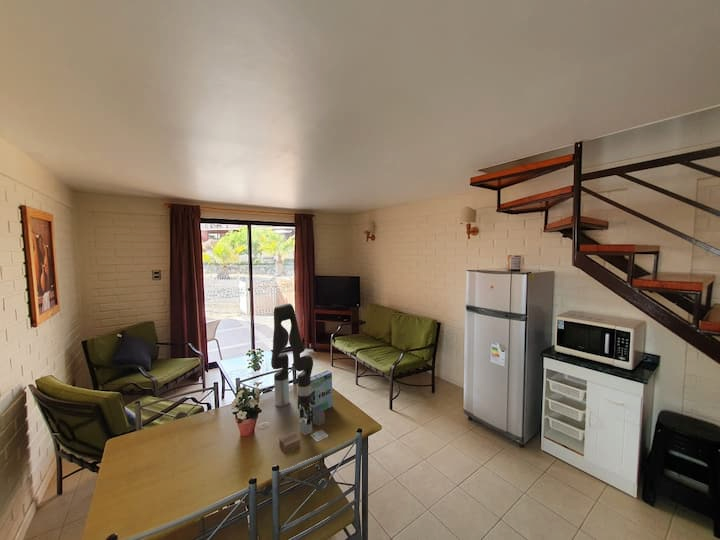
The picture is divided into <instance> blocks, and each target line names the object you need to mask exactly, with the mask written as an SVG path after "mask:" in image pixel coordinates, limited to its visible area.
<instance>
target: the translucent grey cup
mask: <svg viewBox="0 0 720 540" xmlns="http://www.w3.org/2000/svg"><path fill="white" fill-rule="evenodd" d="M325 415H326V413H325V411H321V410H317V411H316V412H314V413H313V418H312V425H316V426H318V427H321V425H323V424H324V423H326V416H325Z"/></svg>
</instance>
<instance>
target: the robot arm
mask: <svg viewBox="0 0 720 540" xmlns="http://www.w3.org/2000/svg"><path fill="white" fill-rule="evenodd" d="M287 320H290V331H289V332H288V330H287V329H286V328H285V327H284V326H283V324H282V322H286V321H287ZM297 320H298V319H297V315H296V311H295V308H294V306H293V304H291V303H284V304H280V305H277V306H275V307H274V309H273V336H272V337H273V339H272V353H271V359H270V364H271V368H272V369H273V370H279V371H277V372H275V373H274V375H273V381H274V382H273V383H274V386H273V387H274V404H275V406H276V407H285V406H288V404H289V403H290V382H289V381H290V380H289V378H290V377H289V364H290V362H289V359H290V358H289V355H288V353H285V352H284V353H281V352H283V350H284V349H286V347H287V346H288V344H289V346H290V348H291V351H292V358H293V359H292V361H293V368H294V369H295V371H297V372H300V373H299V374H298V375H297V410H298V411H299V418H300V419H303V418H306V417H307V425H309V424H311V422H312V419H313V407H312V406H311V407H310V404H309V402H310V401H311V399H312V397H311V379H310V377H312V376H311V375H312V371H313V368H314V360H313V357H312V356H311V355H309V354H307V355H304V356H301V354H302V353H304V352H305V349H306V348H305V344H304V343H303V339H302V337H301V333H300V329H299V326H298V321H297ZM306 411H308V412H306ZM304 413H305V415H306V417H305V416H304Z"/></svg>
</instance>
